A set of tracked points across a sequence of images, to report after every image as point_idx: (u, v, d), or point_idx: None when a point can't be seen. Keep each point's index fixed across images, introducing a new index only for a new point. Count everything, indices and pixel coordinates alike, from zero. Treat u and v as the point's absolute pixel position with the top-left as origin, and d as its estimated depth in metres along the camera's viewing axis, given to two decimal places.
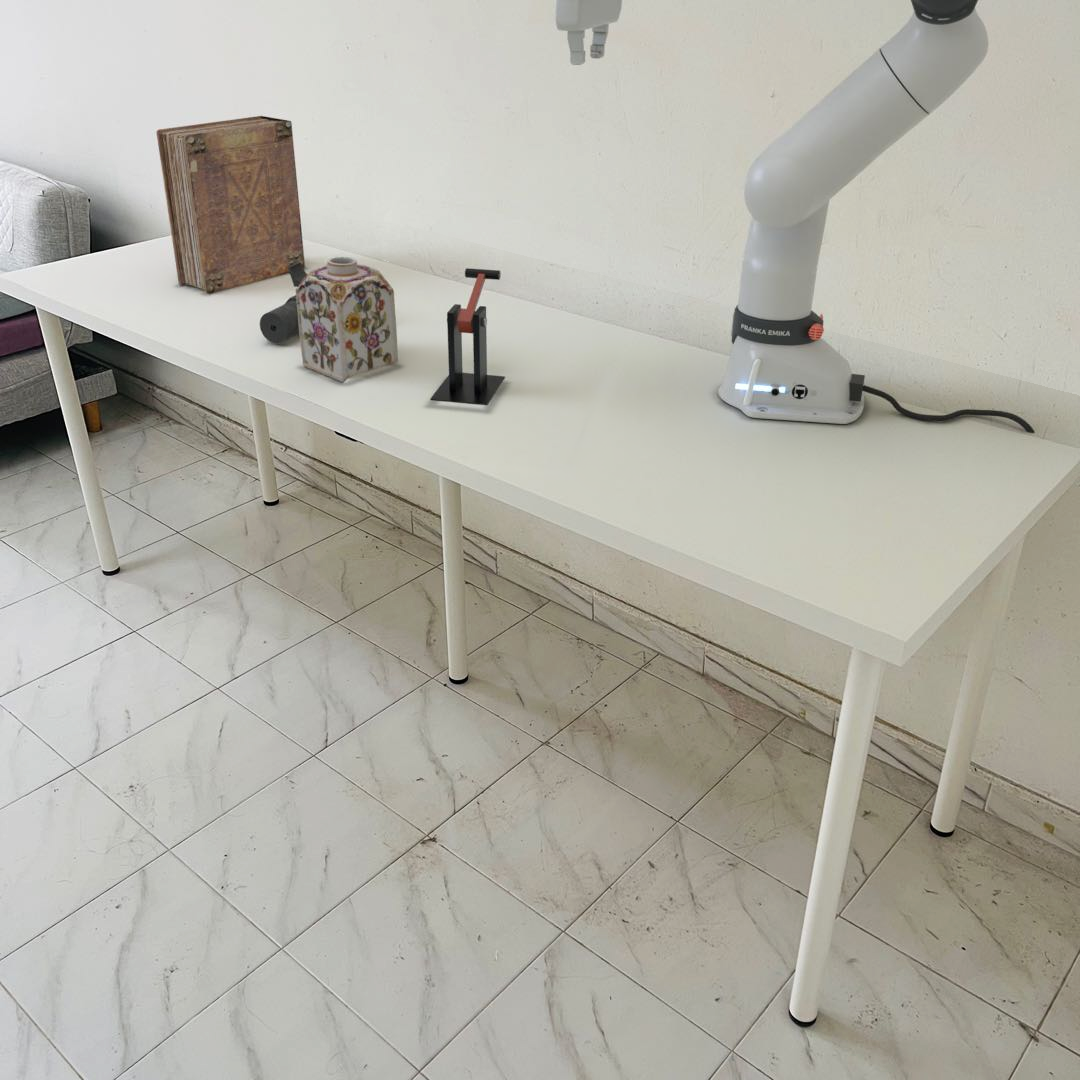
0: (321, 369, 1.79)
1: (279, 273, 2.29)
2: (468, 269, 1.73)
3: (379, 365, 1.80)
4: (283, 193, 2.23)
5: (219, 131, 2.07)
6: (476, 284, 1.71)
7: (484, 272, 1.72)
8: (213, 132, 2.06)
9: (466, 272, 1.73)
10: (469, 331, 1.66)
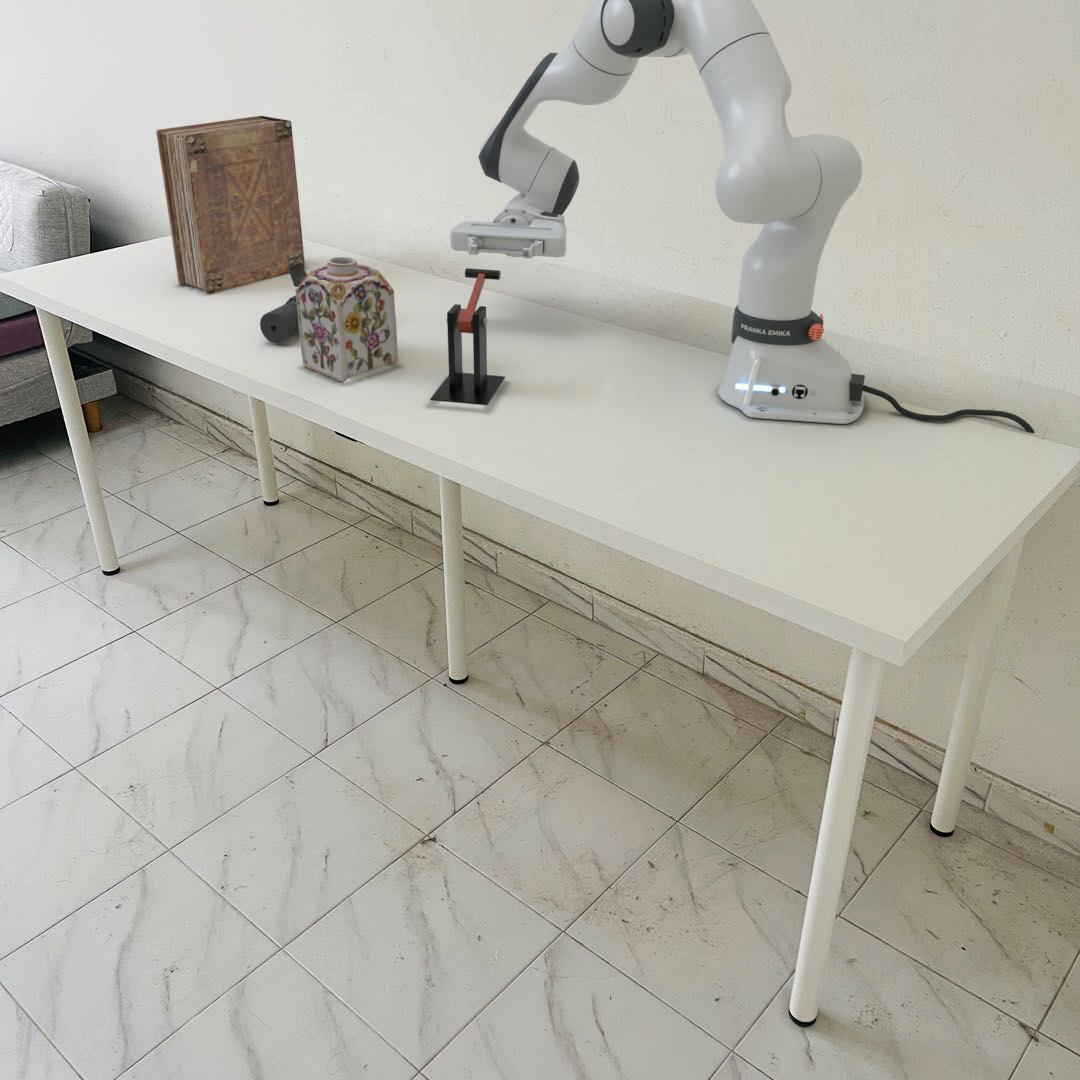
0: (321, 369, 1.79)
1: (279, 273, 2.29)
2: (468, 269, 1.73)
3: (379, 365, 1.80)
4: (283, 193, 2.23)
5: (219, 131, 2.07)
6: (476, 284, 1.71)
7: (484, 272, 1.72)
8: (213, 132, 2.06)
9: (466, 272, 1.73)
10: (469, 331, 1.66)
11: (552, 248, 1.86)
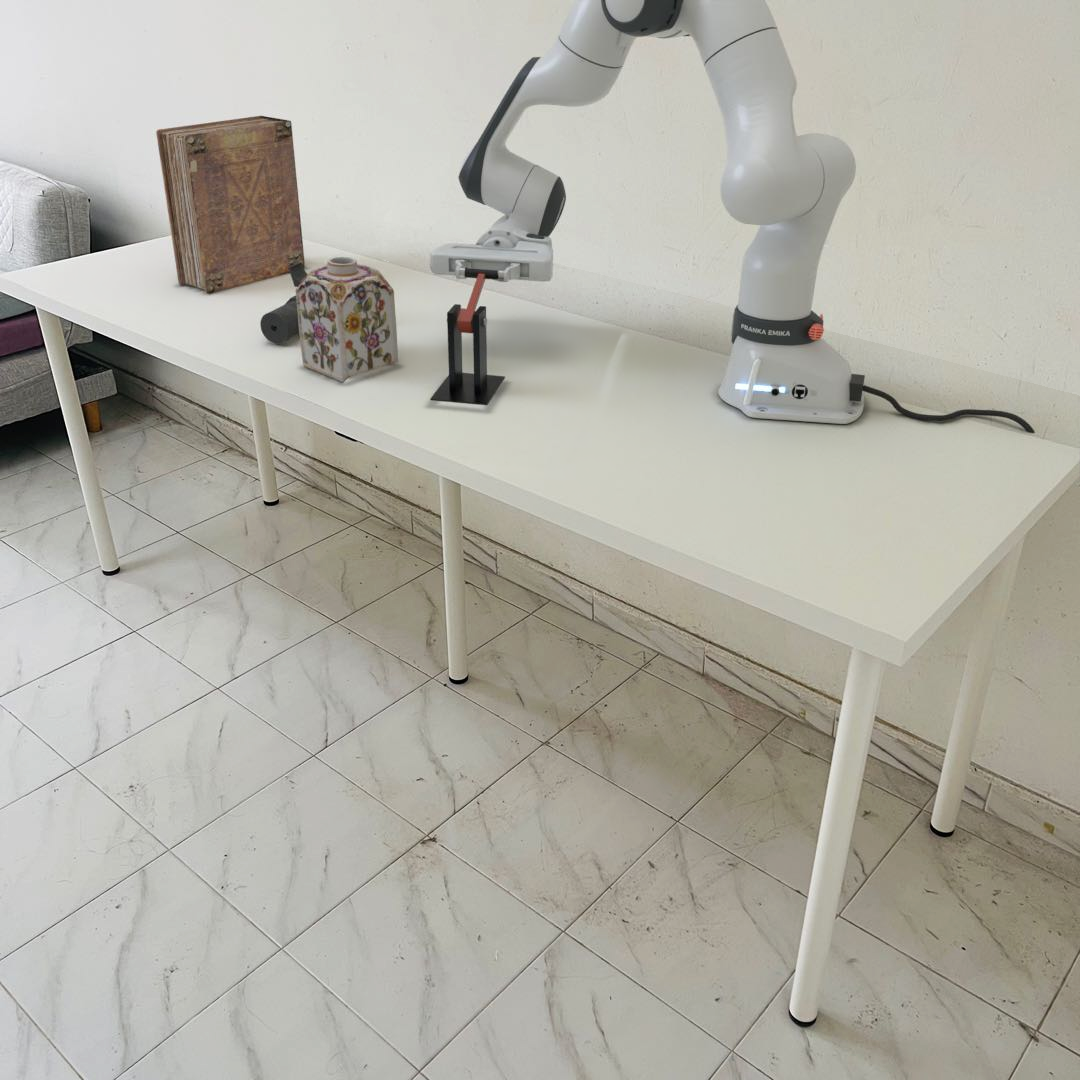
0: (321, 369, 1.79)
1: (279, 273, 2.29)
2: (468, 269, 1.73)
3: (379, 365, 1.80)
4: (283, 193, 2.23)
5: (219, 131, 2.07)
6: (476, 284, 1.71)
7: (484, 272, 1.72)
8: (213, 132, 2.06)
9: (466, 272, 1.73)
10: (469, 331, 1.66)
11: (538, 272, 1.75)
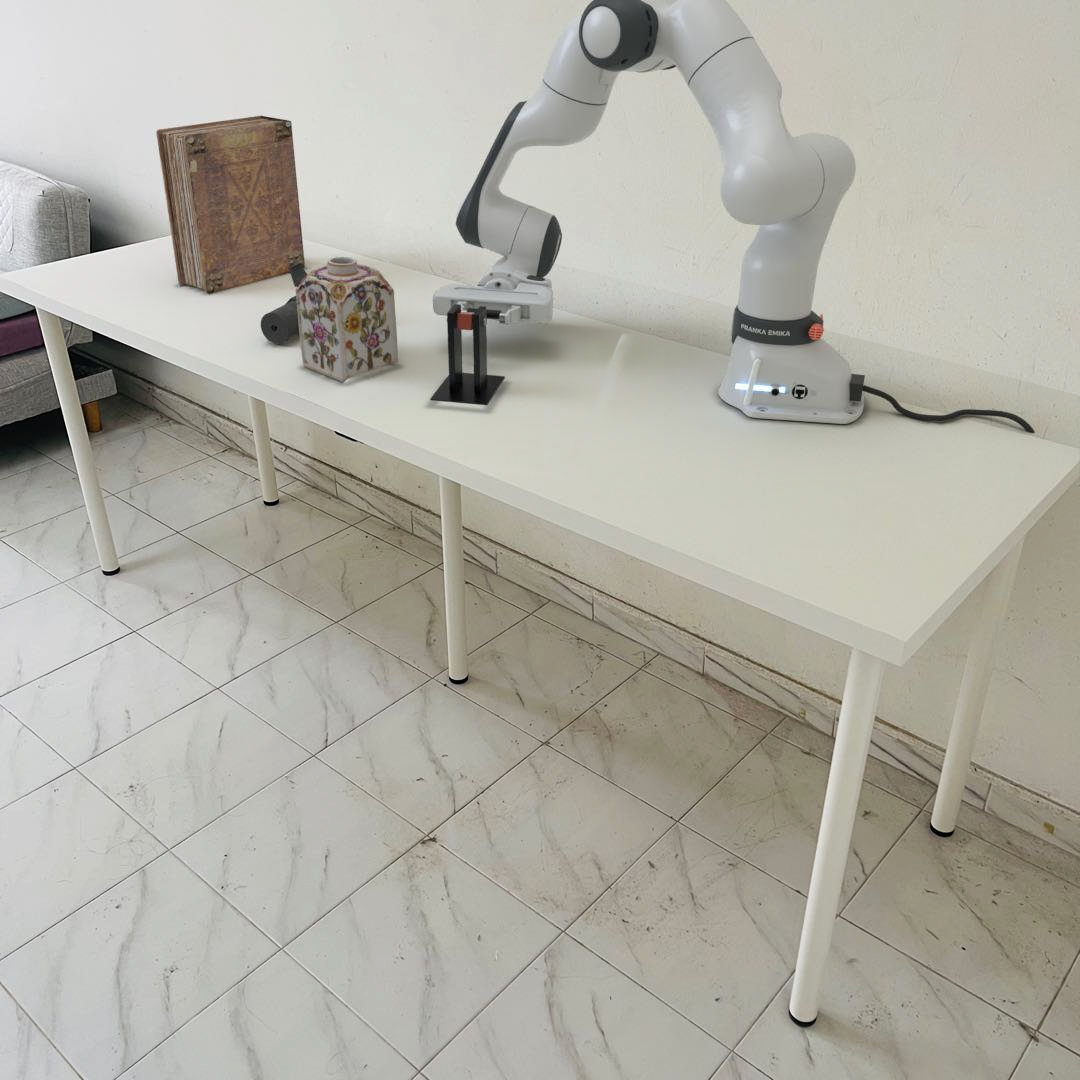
0: (321, 369, 1.79)
1: (279, 273, 2.29)
2: (471, 308, 1.77)
3: (379, 365, 1.80)
4: (283, 193, 2.23)
5: (219, 131, 2.07)
6: None
7: (486, 310, 1.76)
8: (213, 132, 2.06)
9: (468, 309, 1.77)
10: (468, 327, 1.65)
11: (538, 314, 1.79)
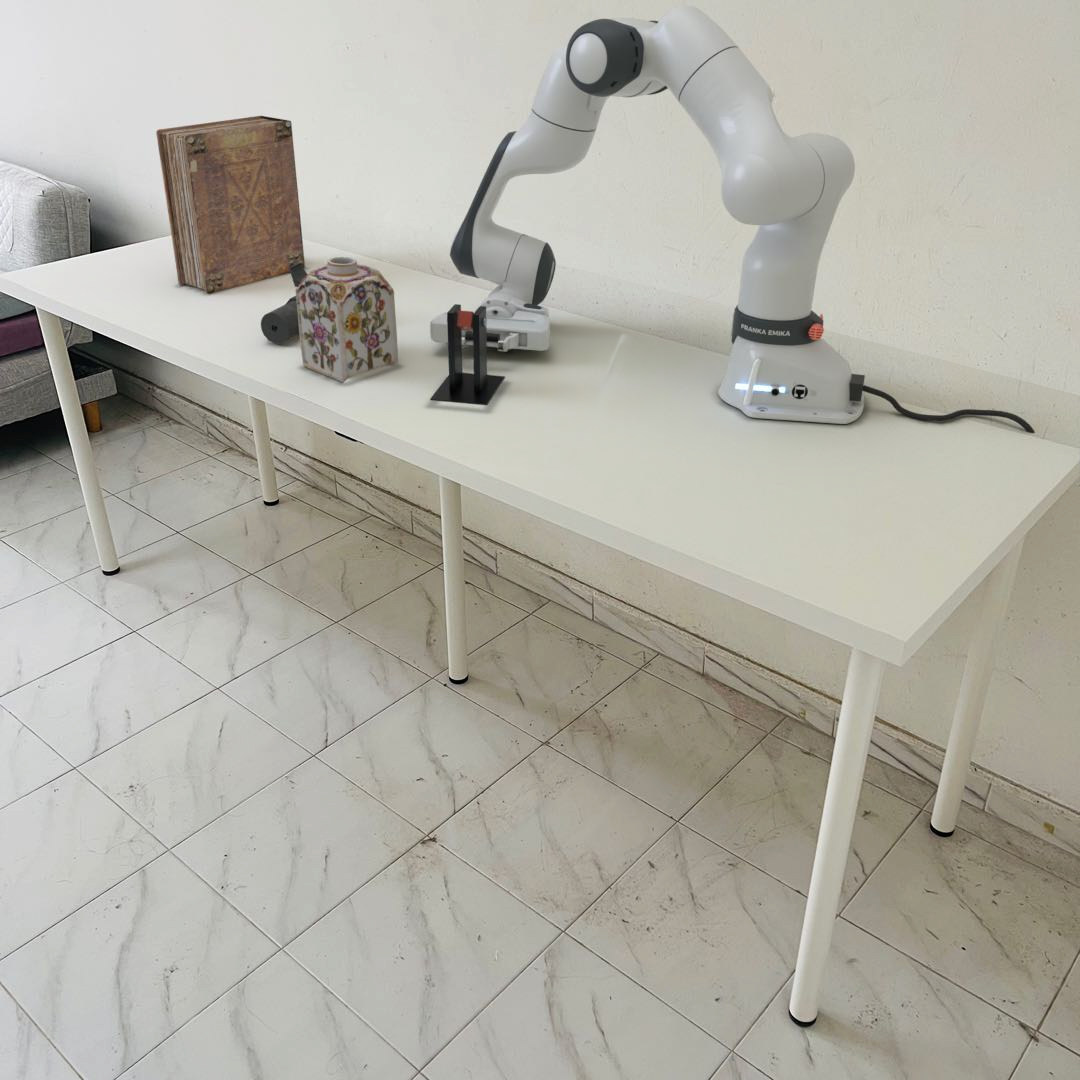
0: (321, 369, 1.79)
1: (279, 273, 2.29)
2: None
3: (379, 365, 1.80)
4: (283, 193, 2.23)
5: (219, 131, 2.07)
6: None
7: None
8: (213, 132, 2.06)
9: (467, 331, 1.77)
10: (468, 324, 1.65)
11: (535, 341, 1.80)
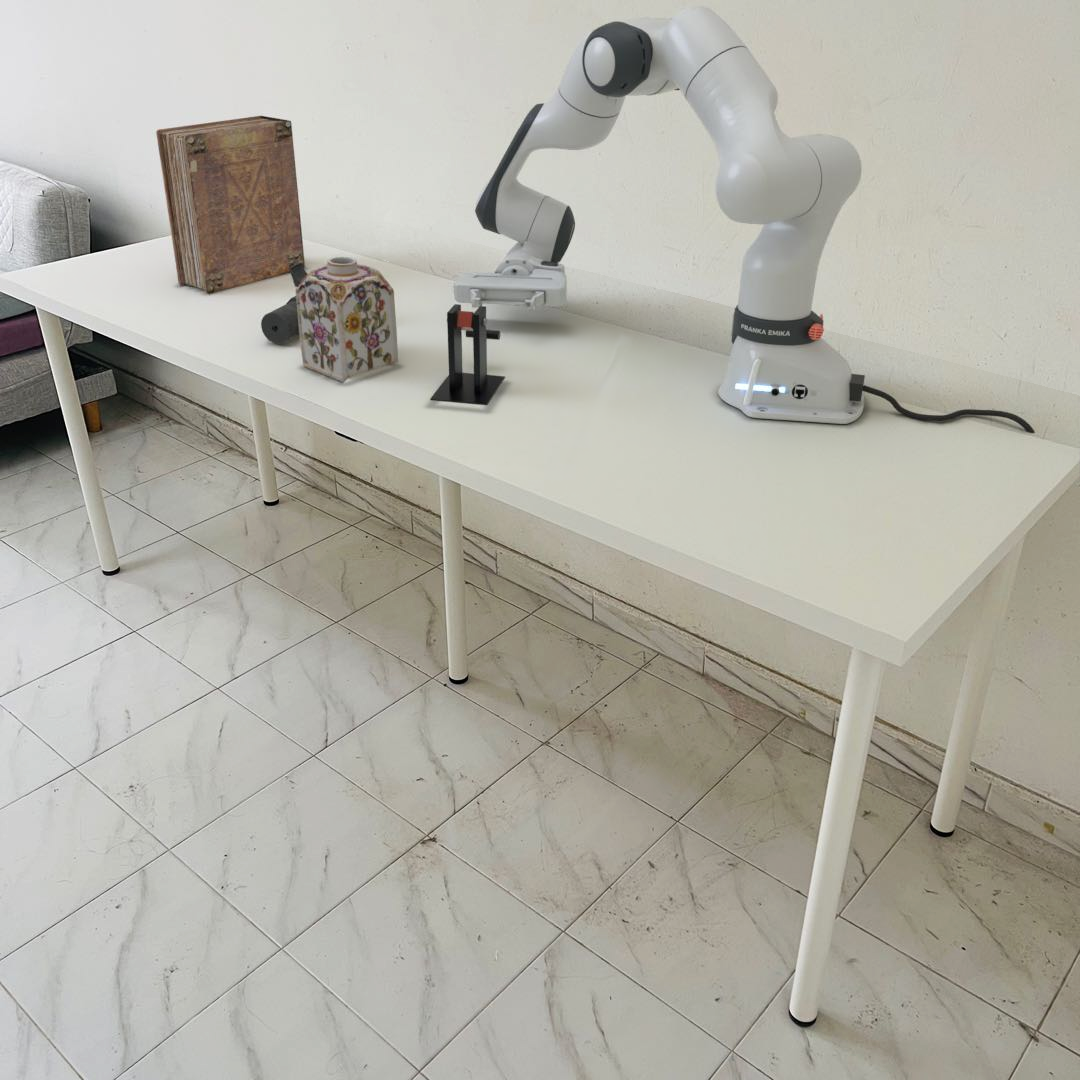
0: (321, 369, 1.79)
1: (279, 273, 2.29)
2: None
3: (379, 365, 1.80)
4: (283, 193, 2.23)
5: (219, 131, 2.07)
6: None
7: None
8: (213, 132, 2.06)
9: (467, 329, 1.77)
10: (468, 324, 1.65)
11: (553, 298, 1.90)
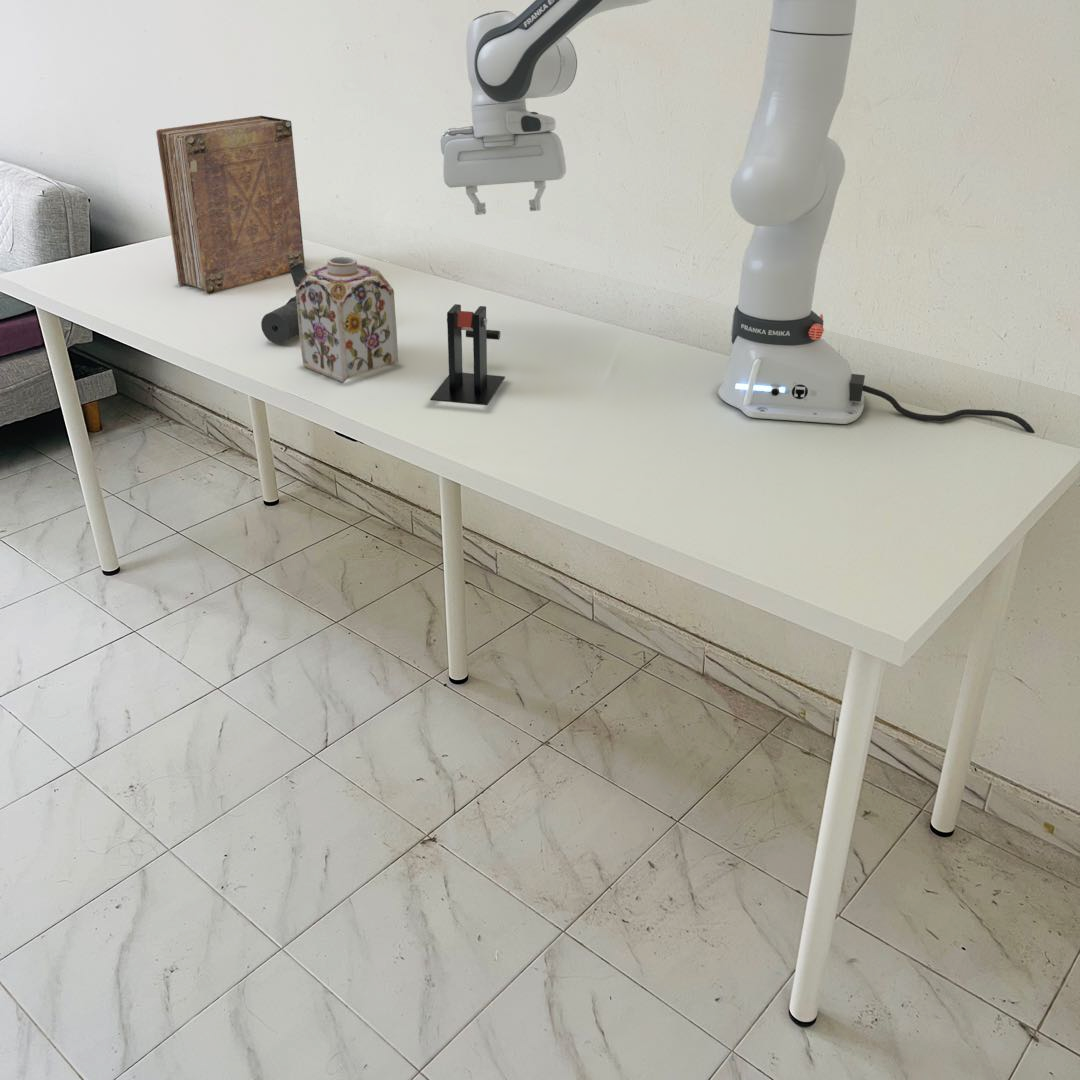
0: (321, 369, 1.79)
1: (279, 273, 2.29)
2: None
3: (379, 365, 1.80)
4: (283, 193, 2.23)
5: (219, 131, 2.07)
6: None
7: None
8: (213, 132, 2.06)
9: (467, 329, 1.77)
10: (468, 324, 1.65)
11: None
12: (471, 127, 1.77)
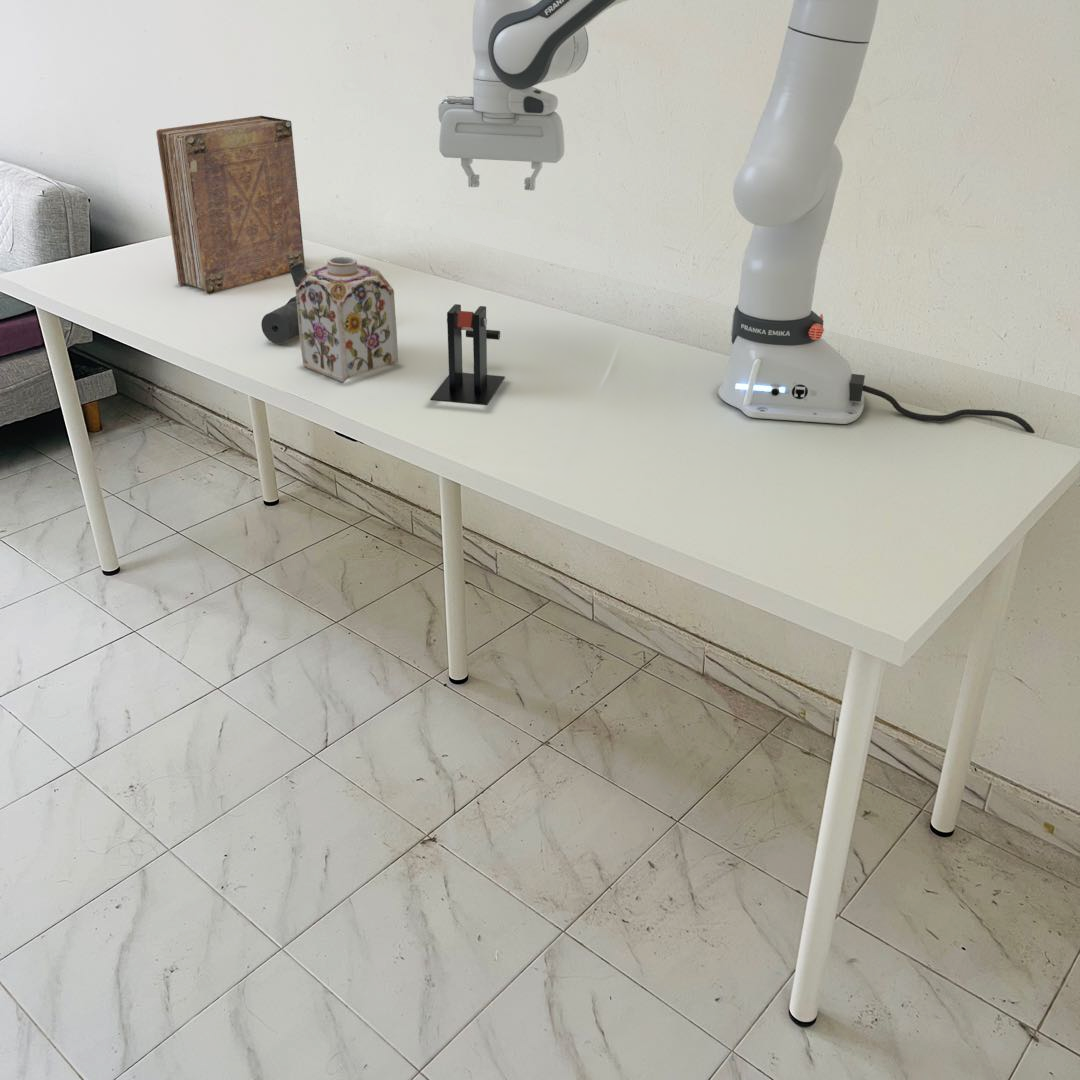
0: (321, 369, 1.79)
1: (279, 273, 2.29)
2: None
3: (379, 365, 1.80)
4: (283, 193, 2.23)
5: (219, 131, 2.07)
6: None
7: None
8: (213, 132, 2.06)
9: (467, 329, 1.77)
10: (468, 324, 1.65)
11: None
12: (471, 98, 1.73)
